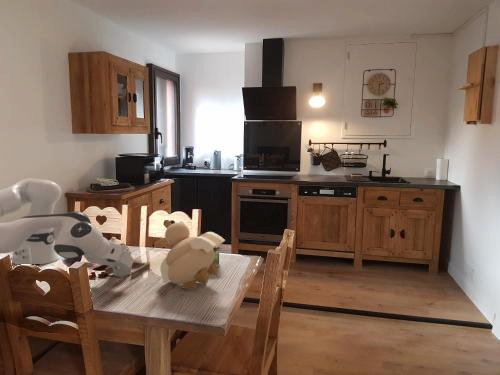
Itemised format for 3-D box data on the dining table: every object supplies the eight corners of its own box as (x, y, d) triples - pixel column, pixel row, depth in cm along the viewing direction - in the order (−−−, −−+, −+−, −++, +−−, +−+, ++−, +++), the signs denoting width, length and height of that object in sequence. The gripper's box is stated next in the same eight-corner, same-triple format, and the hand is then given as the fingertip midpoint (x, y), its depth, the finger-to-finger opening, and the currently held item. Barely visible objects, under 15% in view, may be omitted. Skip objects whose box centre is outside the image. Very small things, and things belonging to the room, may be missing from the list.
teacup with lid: (113, 265, 175) (112, 241, 173) (99, 262, 179) (99, 238, 177) (132, 258, 185) (132, 235, 183) (119, 255, 189) (119, 232, 188)
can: (126, 278, 159) (125, 250, 158) (109, 276, 160) (108, 249, 159) (134, 272, 166) (133, 245, 165) (118, 270, 168) (117, 244, 166)
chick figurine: (204, 200, 158) (172, 210, 137) (244, 255, 153) (218, 273, 133) (160, 240, 169) (125, 254, 148) (196, 292, 165) (165, 314, 144)
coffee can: (223, 265, 177) (223, 236, 175) (204, 269, 171) (204, 239, 169) (212, 259, 185) (212, 231, 184) (193, 263, 179) (193, 234, 178)
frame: (104, 274, 163) (104, 268, 162) (122, 265, 175) (122, 259, 175) (133, 278, 159) (133, 272, 159) (149, 268, 171) (149, 263, 171)
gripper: (75, 255, 149) (93, 271, 159) (119, 260, 143) (135, 277, 154) (83, 241, 153) (99, 258, 163) (126, 246, 147) (141, 263, 157)
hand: (117, 267), depth 158 cm, fingers closed
